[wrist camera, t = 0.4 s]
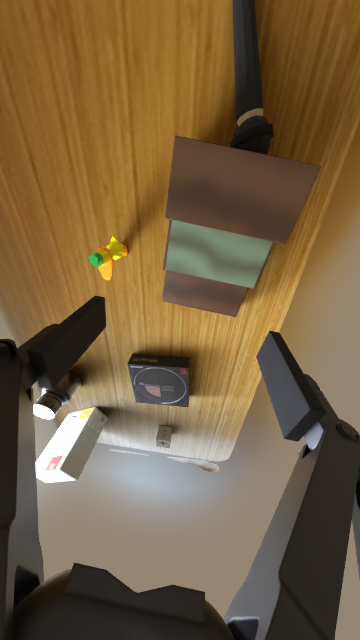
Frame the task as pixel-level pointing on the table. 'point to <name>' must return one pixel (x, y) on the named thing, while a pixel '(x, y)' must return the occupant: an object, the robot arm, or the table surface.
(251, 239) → the display shelf
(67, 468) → the hard drive box
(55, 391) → the ink bottle
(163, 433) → the dice cube
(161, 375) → the portable cd player
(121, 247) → the toy figure
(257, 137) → the microphone
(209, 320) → the table surface
